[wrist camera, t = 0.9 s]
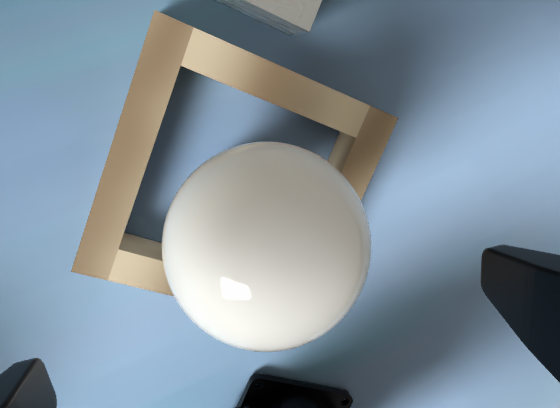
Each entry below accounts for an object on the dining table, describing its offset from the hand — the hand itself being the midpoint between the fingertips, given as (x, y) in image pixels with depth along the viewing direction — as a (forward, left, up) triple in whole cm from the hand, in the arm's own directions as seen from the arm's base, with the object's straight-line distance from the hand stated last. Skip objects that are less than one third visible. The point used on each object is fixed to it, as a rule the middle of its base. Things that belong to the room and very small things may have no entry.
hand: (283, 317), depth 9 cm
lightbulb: (-1, 0, -13) cm, 13 cm away
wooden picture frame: (-1, 0, -13) cm, 13 cm away
